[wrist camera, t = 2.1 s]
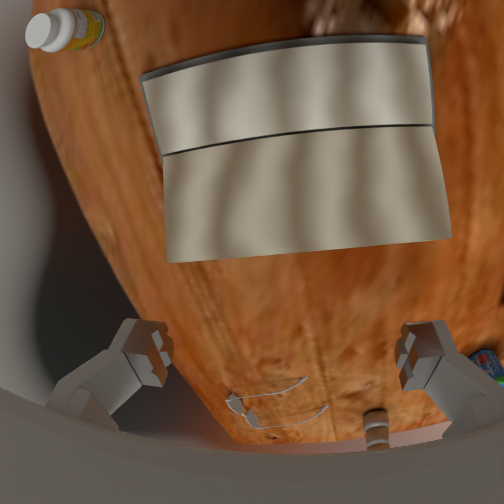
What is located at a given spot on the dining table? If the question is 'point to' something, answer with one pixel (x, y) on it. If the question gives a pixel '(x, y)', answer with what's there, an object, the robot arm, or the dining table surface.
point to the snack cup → (489, 365)
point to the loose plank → (305, 194)
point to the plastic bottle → (376, 430)
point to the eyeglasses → (253, 418)
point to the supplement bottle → (65, 30)
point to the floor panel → (290, 91)
